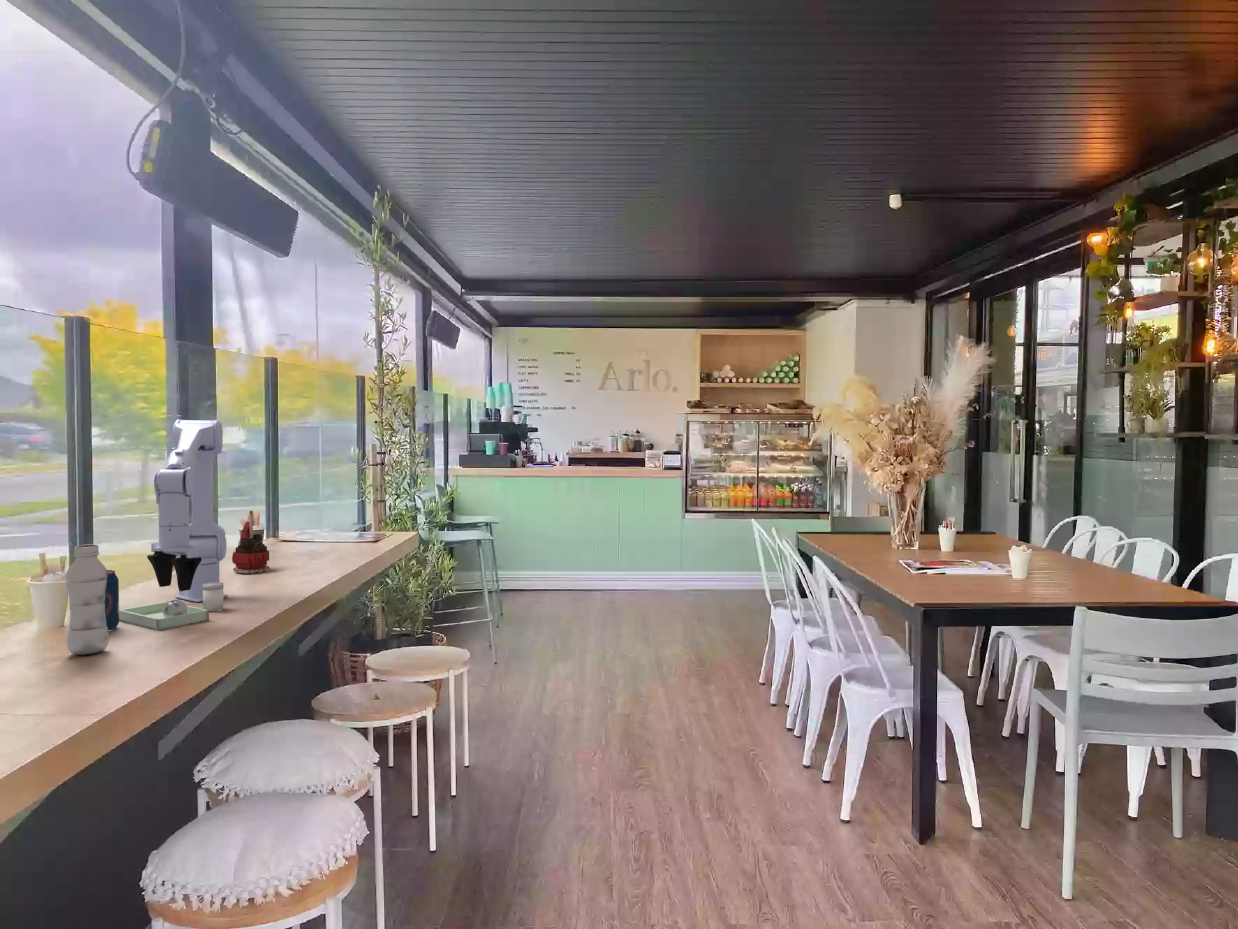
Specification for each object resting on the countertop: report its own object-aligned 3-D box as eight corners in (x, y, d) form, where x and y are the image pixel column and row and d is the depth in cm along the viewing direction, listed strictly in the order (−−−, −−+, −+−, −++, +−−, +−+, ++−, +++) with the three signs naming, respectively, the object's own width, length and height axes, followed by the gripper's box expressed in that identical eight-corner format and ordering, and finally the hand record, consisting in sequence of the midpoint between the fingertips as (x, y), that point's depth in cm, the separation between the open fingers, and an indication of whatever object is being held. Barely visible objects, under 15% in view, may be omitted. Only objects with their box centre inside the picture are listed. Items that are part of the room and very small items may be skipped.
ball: (159, 623, 172) (157, 601, 172) (180, 619, 176) (179, 598, 176) (170, 624, 170) (169, 602, 170) (192, 619, 174) (190, 598, 174)
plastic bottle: (118, 650, 151) (116, 544, 150) (83, 660, 144) (81, 549, 144) (92, 647, 153) (91, 542, 152) (57, 656, 147) (56, 547, 146)
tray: (117, 620, 175) (117, 610, 175) (168, 610, 184) (168, 601, 184) (158, 630, 166) (157, 619, 166) (209, 620, 176) (208, 610, 176)
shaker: (198, 610, 185) (198, 584, 185) (216, 607, 189) (216, 581, 189) (209, 612, 183) (209, 586, 183) (227, 609, 187) (227, 583, 187)
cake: (258, 575, 230) (258, 512, 230) (226, 575, 230) (226, 512, 230) (275, 569, 241) (274, 509, 240) (244, 568, 241) (243, 508, 240)
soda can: (77, 635, 161) (76, 576, 161) (81, 628, 168) (80, 570, 167) (117, 632, 165) (116, 573, 164) (120, 624, 171) (119, 568, 170)
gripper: (136, 524, 173) (137, 587, 173) (174, 529, 165) (175, 595, 166) (169, 521, 179) (170, 582, 179) (207, 526, 171) (208, 589, 172)
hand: (174, 588), depth 173 cm, fingers open, 7 cm apart
